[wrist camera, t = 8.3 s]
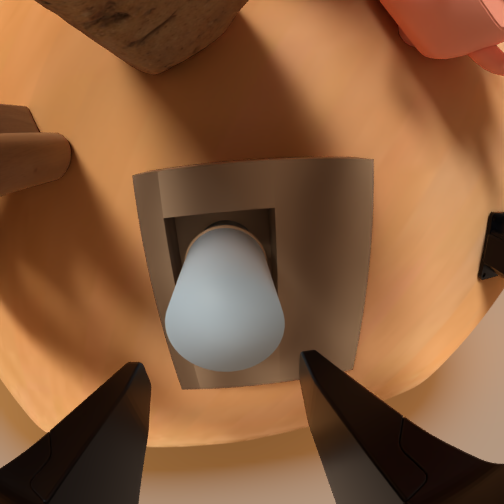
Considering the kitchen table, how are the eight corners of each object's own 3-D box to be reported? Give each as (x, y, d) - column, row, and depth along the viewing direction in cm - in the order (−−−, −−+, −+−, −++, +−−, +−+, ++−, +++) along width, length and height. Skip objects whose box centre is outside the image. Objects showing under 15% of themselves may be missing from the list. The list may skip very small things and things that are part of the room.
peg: (259, 210, 16) (287, 266, 8) (263, 277, 17) (286, 367, 10) (186, 217, 16) (150, 277, 8) (196, 282, 17) (176, 375, 10)
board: (350, 156, 16) (373, 159, 13) (339, 344, 20) (352, 369, 18) (149, 171, 15) (132, 175, 12) (186, 361, 20) (182, 389, 17)
